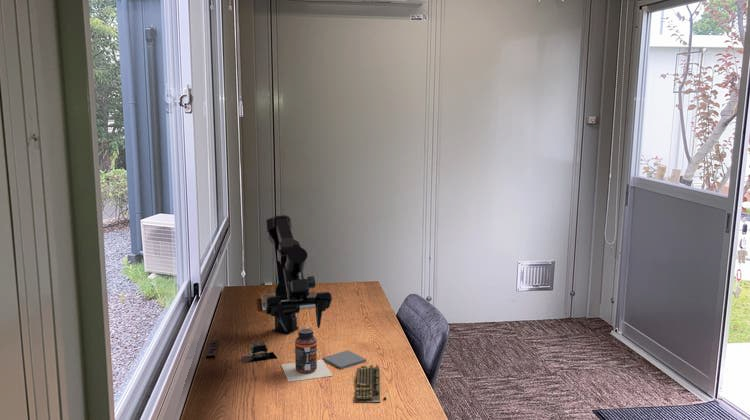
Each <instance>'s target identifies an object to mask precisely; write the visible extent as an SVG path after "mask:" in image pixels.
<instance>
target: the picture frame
mask: <svg viewBox="0 0 750 420" xmlns="http://www.w3.org/2000/svg"><path fill="white" fill-rule="evenodd" d="M317 293H318V292H317V291H316V290H309V295H307V297H308V298H314V297H316V295H317ZM272 296H274V293H261V294H260V300H262V301H261V307H262V311H263V310H265V304H266V299H267V298H268V297H272ZM312 307H315V308H316V306H315V304H311V305H301V306H300V309H310V308H311V309H313V308H312Z"/></svg>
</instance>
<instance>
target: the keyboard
mask: <svg viewBox="0 0 750 420" xmlns="http://www.w3.org/2000/svg"><path fill="white" fill-rule="evenodd" d="M380 372H381V371H380V367H379V365H378V364H376V365H375V366H373V364H370V365H369V366H367V365H361V366H360V367H357V368H356V382H355V392H354V394H355V395H354V403H355V404H377V403H378V404H381V390H380V389H381V388H380V387H381V385H380V384H381V382H380V379H381V378H380V377H381V375H380ZM384 392H386V393H388V390H385V391H384ZM382 400H383V401H387V396H384V397H383V399H382Z"/></svg>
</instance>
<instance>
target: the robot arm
mask: <svg viewBox="0 0 750 420" xmlns="http://www.w3.org/2000/svg"><path fill="white" fill-rule="evenodd" d="M292 229H293V227H292V218H290V217H289V215H286V214H284V215H275V216H272V217H270V218H268V219H265V222H264V230H265V233H266V236H267V240H269V242H270V243H271V244H272V248H273V256H274V263H275V265H274V266H275V274H276V287H275V290H274V292H273V294H274V296H272V297H268V298H267V299H266V304H265V311H264V312H265V314H266V315H270V316H271V317H274V328H272V330H271V331H272V332H275V333H279V334H286V335H289V334H292V333H294V332H295V331H297V330H299V326H298V317H297V315H296V314H299V312H301V311H300V309H301V308H300V306H301V305H311V304H315V306H316V307H315V320H316V326H317V329H320V328H321V322H322V321H321V320H322V315H323V312H325V311H326V310H327V309H329V308H330V307H331V304H332V300H333V297H332V294H331V292H329V291H321V292H317V295H316V297H314V298H308V297H307V295H309V291H311V290H310V289H314V288H316V278H315V276H314V275H312V276H310V275H309V276H307V277H306V278H305V275H304V270H305V267H306V264H307V259H308V252H307V251H306V250H305V248H303V247H302V246H301V244H300V242H299V241H298V240H296V239H294V236H293V232H292Z"/></svg>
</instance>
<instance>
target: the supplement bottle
mask: <svg viewBox="0 0 750 420" xmlns="http://www.w3.org/2000/svg"><path fill="white" fill-rule="evenodd" d="M294 345H295V346H294V347H295V348H294V350H295V351H294V352H295V353H294V356H295V357H294V359H295V361H294V363H295V366H296V371H298V372H300V373H311V372H314V371H315V370H316V369H317V360H318V357H317V356H318V355H317V354H318V353H317V352H318V348H317V347H318V343H317V337H315V336H314V330H313V329H312V328H300V329H298V336H297V337H296V339H295V341H294Z"/></svg>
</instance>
